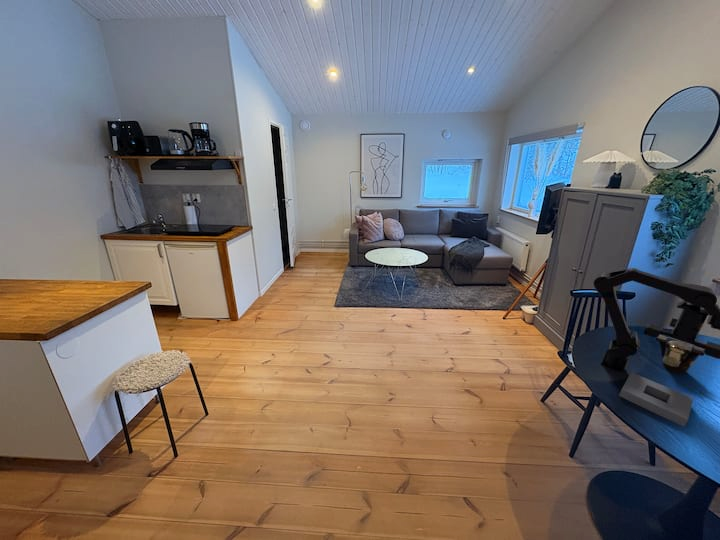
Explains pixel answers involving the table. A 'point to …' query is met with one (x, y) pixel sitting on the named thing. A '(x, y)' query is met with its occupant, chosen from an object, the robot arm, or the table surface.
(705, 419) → the table surface
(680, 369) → the coffee mug
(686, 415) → the flange socket
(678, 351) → the brass fitting
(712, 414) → the table surface
